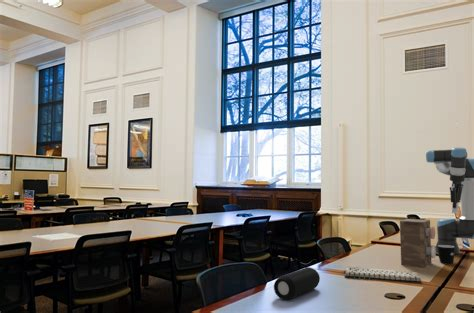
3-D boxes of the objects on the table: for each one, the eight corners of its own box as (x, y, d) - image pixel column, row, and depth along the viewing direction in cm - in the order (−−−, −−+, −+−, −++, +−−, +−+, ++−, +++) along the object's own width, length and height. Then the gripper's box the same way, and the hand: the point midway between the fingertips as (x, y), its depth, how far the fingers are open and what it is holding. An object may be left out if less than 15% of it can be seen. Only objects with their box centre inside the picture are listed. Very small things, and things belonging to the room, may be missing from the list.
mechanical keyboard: (417, 276, 206) (417, 269, 207) (423, 285, 188) (423, 278, 188) (344, 271, 217) (344, 265, 218) (343, 280, 199) (342, 273, 199)
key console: (408, 260, 242) (407, 218, 244) (431, 263, 234) (430, 220, 236) (401, 265, 230) (399, 220, 231) (424, 268, 222) (423, 222, 223)
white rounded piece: (414, 254, 236) (414, 242, 237) (436, 257, 229) (435, 244, 229) (411, 256, 231) (410, 244, 231) (433, 258, 223) (432, 246, 224)
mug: (452, 265, 228) (451, 248, 229) (436, 263, 235) (435, 246, 235) (458, 262, 237) (458, 245, 237) (443, 260, 243) (442, 243, 244)
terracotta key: (414, 236, 237) (413, 224, 237) (435, 238, 229) (435, 225, 230) (410, 237, 231) (410, 225, 232) (432, 239, 224) (432, 227, 224)
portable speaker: (303, 286, 186) (302, 265, 186) (321, 289, 179) (321, 268, 180) (272, 298, 166) (271, 275, 167) (291, 303, 160) (291, 278, 160)
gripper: (459, 176, 220) (456, 216, 224) (468, 173, 228) (466, 212, 232) (445, 175, 226) (443, 213, 230) (455, 171, 234) (453, 209, 238)
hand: (454, 212), depth 231 cm, fingers closed
